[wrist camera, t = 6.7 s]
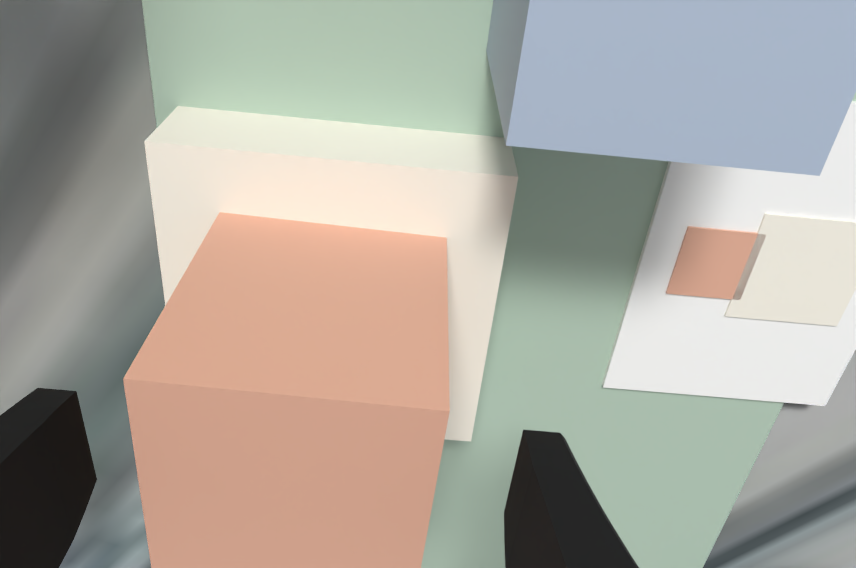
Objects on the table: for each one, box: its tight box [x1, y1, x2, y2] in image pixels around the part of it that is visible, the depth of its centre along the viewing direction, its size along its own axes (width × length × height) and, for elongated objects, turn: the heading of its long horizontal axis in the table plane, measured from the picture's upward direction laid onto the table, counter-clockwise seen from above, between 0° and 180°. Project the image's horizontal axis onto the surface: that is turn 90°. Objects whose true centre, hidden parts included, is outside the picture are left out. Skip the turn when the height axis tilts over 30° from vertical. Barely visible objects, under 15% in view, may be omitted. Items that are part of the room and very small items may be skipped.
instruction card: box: [602, 101, 856, 406], centre depth 17 cm, size 6×8×1 cm
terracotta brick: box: [123, 212, 450, 568], centre depth 13 cm, size 4×4×5 cm
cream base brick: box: [144, 106, 518, 441], centre depth 16 cm, size 7×7×2 cm
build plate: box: [142, 0, 856, 568], centre depth 18 cm, size 16×23×1 cm
